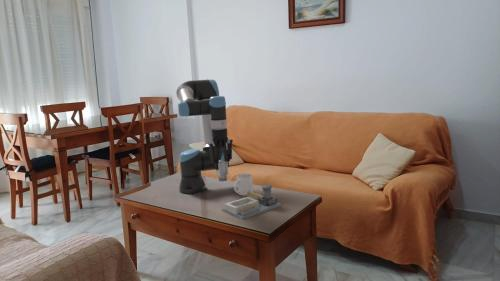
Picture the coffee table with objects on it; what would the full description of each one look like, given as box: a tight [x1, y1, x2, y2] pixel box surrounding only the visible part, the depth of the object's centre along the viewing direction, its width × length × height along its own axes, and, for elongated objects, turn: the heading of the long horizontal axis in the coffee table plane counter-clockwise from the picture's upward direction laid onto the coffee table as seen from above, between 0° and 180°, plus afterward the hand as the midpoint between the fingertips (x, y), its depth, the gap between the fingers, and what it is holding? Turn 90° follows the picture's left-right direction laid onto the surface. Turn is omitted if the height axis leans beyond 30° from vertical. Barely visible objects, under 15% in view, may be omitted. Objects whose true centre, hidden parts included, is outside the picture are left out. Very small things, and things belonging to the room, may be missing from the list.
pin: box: [218, 160, 228, 182], centre depth 189 cm, size 4×4×10 cm
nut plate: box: [221, 184, 281, 220], centre depth 187 cm, size 16×24×10 cm, turn 128°
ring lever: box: [246, 191, 278, 206], centre depth 194 cm, size 18×7×2 cm, turn 38°
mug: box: [233, 173, 254, 197], centre depth 209 cm, size 12×8×10 cm
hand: (222, 174), depth 189 cm, fingers closed on pin, 4 cm apart
